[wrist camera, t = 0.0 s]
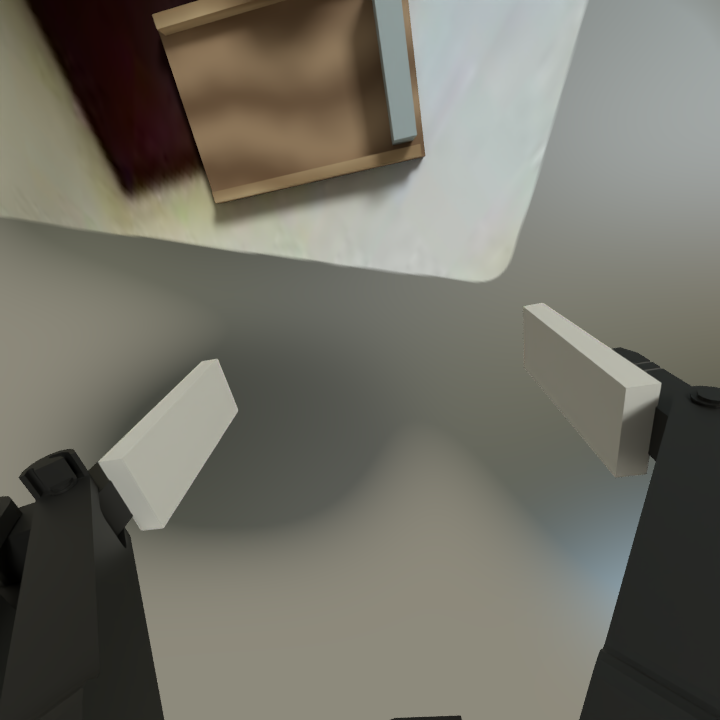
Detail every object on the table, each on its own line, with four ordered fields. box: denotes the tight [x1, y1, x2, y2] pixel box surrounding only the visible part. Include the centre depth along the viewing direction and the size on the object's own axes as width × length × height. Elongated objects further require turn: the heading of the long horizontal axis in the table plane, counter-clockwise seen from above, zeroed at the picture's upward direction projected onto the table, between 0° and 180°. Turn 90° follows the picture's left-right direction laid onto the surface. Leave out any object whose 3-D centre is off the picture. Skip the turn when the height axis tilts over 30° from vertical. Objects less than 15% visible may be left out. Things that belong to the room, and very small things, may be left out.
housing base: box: [152, 0, 425, 204], centre depth 34 cm, size 15×22×3 cm
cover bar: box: [372, 0, 417, 146], centre depth 31 cm, size 12×2×4 cm, turn 11°
